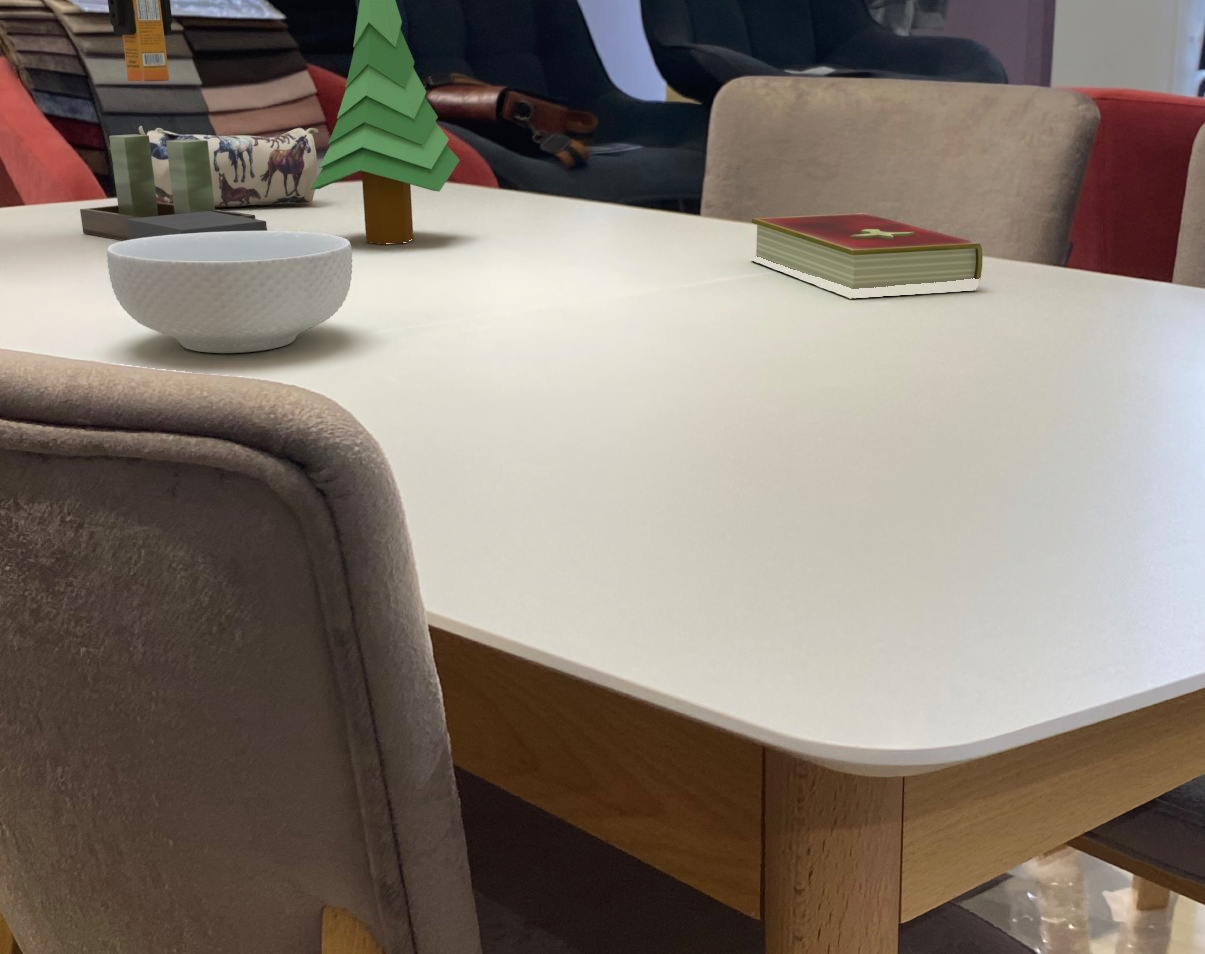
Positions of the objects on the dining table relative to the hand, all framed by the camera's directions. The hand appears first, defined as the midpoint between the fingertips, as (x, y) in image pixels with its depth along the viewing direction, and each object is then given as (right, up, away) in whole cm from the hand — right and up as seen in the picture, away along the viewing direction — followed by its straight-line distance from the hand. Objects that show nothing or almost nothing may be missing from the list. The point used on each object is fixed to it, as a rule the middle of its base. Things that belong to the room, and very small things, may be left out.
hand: (142, 32), depth 146 cm
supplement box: (0, -5, +2) cm, 5 cm away
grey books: (+11, -29, -18) cm, 36 cm away
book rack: (0, -18, +9) cm, 20 cm away
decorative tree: (+24, -20, +5) cm, 32 cm away
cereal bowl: (+20, -39, -42) cm, 61 cm away
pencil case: (+1, -9, +33) cm, 34 cm away
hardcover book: (+69, -28, -17) cm, 77 cm away
